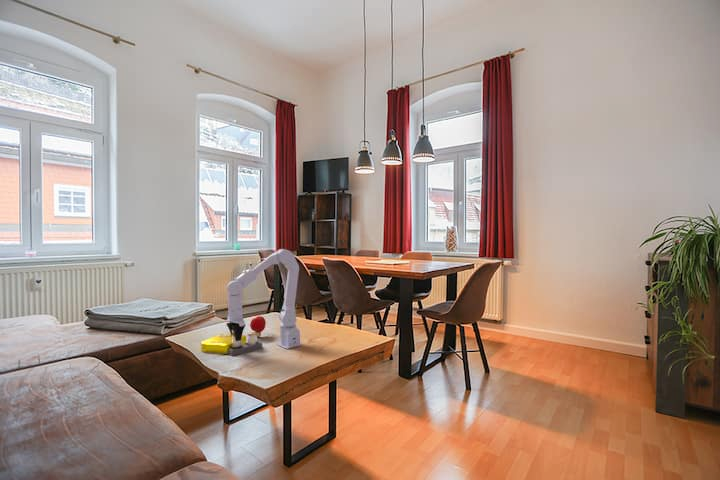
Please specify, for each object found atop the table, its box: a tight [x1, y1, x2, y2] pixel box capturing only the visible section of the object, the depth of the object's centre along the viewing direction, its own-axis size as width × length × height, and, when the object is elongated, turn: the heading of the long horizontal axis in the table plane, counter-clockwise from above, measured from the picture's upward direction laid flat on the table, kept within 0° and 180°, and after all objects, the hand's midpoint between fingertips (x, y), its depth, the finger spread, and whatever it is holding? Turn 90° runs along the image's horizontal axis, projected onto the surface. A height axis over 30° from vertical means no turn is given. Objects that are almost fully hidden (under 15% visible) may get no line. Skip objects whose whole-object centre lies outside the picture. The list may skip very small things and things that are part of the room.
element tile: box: [200, 333, 247, 355], centre depth 163 cm, size 15×15×5 cm
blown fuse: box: [232, 329, 241, 347], centre depth 155 cm, size 4×4×7 cm
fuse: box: [246, 331, 257, 346], centre depth 160 cm, size 4×4×7 cm
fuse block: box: [227, 339, 263, 357], centre depth 158 cm, size 6×14×2 cm, turn 131°
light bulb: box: [249, 315, 267, 338], centre depth 177 cm, size 9×7×10 cm
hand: (236, 339), depth 155 cm, fingers closed on blown fuse, 4 cm apart
